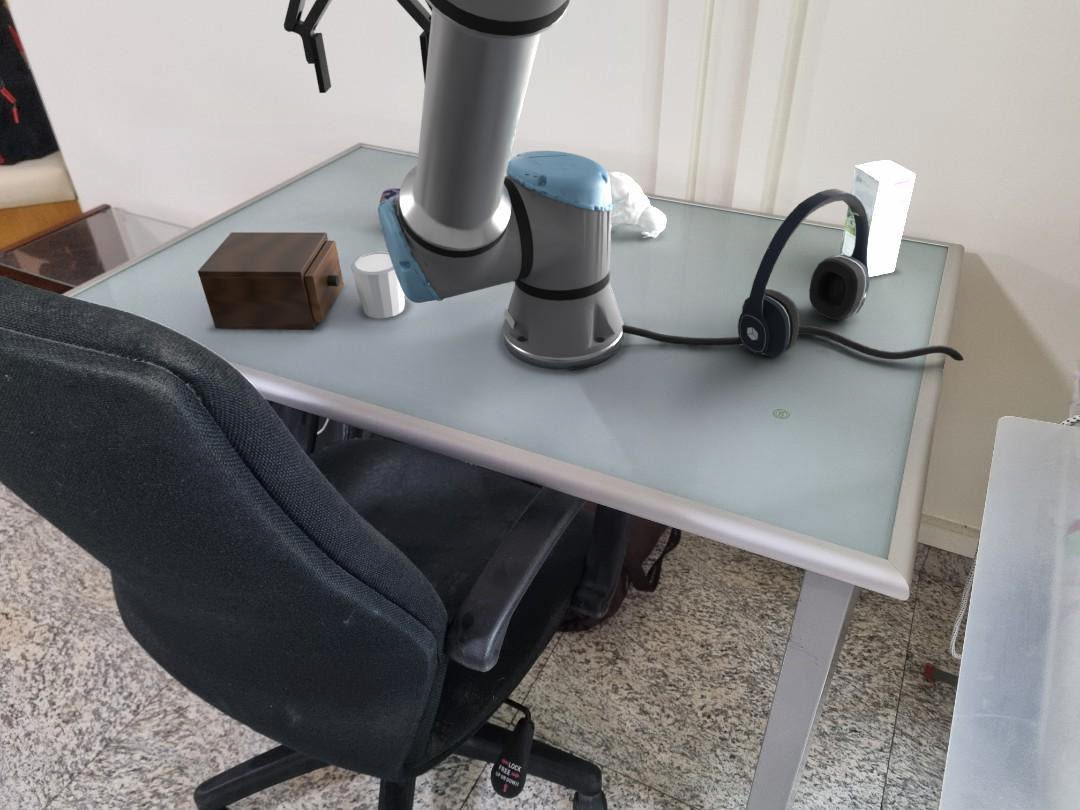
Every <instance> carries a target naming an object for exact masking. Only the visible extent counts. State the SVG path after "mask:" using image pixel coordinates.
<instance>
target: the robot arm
mask: <svg viewBox="0 0 1080 810" xmlns="http://www.w3.org/2000/svg"><path fill="white" fill-rule="evenodd" d="M306 1H307V0H289V3H288V6H287V9H286V14H285V18H284V22H283V28H284V30H285V31H286V32H288V33H295V34H297V35H299V36H300V38H301V40H302V46H303V52H304V57H305V61H306V62H307V64H308V65H313V66H314V70H315V71H314V72H315V76H316V83H317V86H318V93H319V94H326V93H327V92H328V91H329V90H330V89H331V88H332V84H331V78H330V73H329V72H330V71H329V65H328V60H327V54H326V49H325V44H324V43H325V42H324V38H323V33H322V32H315V31H316V30H317V27H318V25H319V24H320V22H321V20H322V18H323V16H324V15H325V13H326V11H327V10H328V8H329V7H330V5H331V3H332V1H333V0H315V1H314V3H313V5H312V6H311V8H310V10H309V11H308V13H307V15H306V17H305V19H304V20H302V16H303V12H304V8H305V5H306ZM424 1H425V3H426V4H427V7H428V8H429V10H430V12H431V14H430V12H429V11H428V10H427V9H426V8H425V7H424V6H423V5H422V3H421V2H420V1H419V0H396V2H397V3H398V4H399V5H400V6H401V7H402V8H403V9H404V10H405V12H407V14H408V15H409V16H410V17H411V19H412V20H414V22H416V24H417V25H418V26H419V27H420V28H421V29H422V32H421V33H420V35H419V46H420V53H421V63H422V72H423V73H422V74H423V80H424V81H423V82H424V89H423V100H422V110H421V122H420V131H419V140H418V143H419V144H418V153H417V164H416V165H415V166H414V167H413V168H412V169H410V171H408V173H407V174H406V176H405V177H404V178H403V180H402V183H401V185H400V188H399V189H400V194H399V198H395V197H390V198H389V199H388V200H386V201H383V202H381V203H380V202H379V204H378V206H377V214H378V215H377V216H378V220H379V224H380V228H381V232H382V236H383V239H384V242H385V246H386V249H387V252H388V253H389V256H390V259H391V262H392V265H393V267H394V270H395V273H396V276H397V278H398V281H399V283H400V286H401V288H402V290H403V292H404V296H405V297H406V298H407V299H408V300H409V301H410V302H412V303H415V304H422V303H428V302H433V301H437V302H441V301H444V300H445V299H449V298H452V297H456V296H460V295H465V294H468V293H473V292H475V291H481V290H484V289H488V288H492V287H496V286H500V285H503V284H507V283H511V282H514V287H513V290H512V294H511V297H510V301H509V304H508V307H507V308H505V311H504V314H503V317H504V321H503V326H502V330H503V331H502V333H503V343H504V347H505V348H506V350H507V351H508V352H509V354H510V355H511V356H512V357H514V358H515V359H516V360H518V361H520V362H522V363H524V364H527V365H529V366H533V367H535V368H539V369H540V368H541V369H547V370H554V371H555V370H557V371H562V370H563V371H564V370H566V371H567V370H577V369H583V368H586V367H591V366H594V365H597V364H600V363H602V362H604V361H606V360H607V359H609V358H611V357H613V356H614V355H615V354H616V353H617V352H618V351H619V349H620V348H621V347H622V344H623V342H624V333H625V334H628V335H634V336H638V337H643V338H645V339H650V340H652V341H655V342H656V341H657V342H661V343H667V344H675V345H686V346H704V347H705V346H707V347H708V346H709V347H710V346H715V347H716V346H737V345H742V343H741V341H740V339H739V336H729V337H691V336H681V335H672V334H664V333H659V332H655V331H652V330H648V329H645V328H640V327H635V326H631V325H628V324H627V325H626V324H624V320H623V316H622V313H621V311H620V308H619V306H618V303H617V299H616V296H615V294H614V291H613V288H612V285H611V276H610V275H611V243H612V241H611V240H612V239H611V237H612V233H611V232H612V228H611V210H612V208H613V204H612V199H611V186H610V178H609V175H608V173H609V172H608V171H607V170H606V169H605V168H604V167H603V166H602V165H601V164H600V163H599V162H597V161H595V160H593V159H591V158H588V157H585V156H583V155H579V154H575V153H570V152H566V151H558V150H557V151H556V150H533V151H532V150H531V151H525V152H521V153H518V154H516V155H515V156H512V157H511V154H512V151H513V146H514V143H515V139H516V135H517V130H518V126H519V122H520V119H521V114H522V110H523V107H524V102H525V97H526V94H527V90H528V86H529V81H530V78H531V74H532V70H533V66H534V62H535V58H536V54H537V50H538V45H539V41H540V37H541V34H542V33H543V32H546V31H548V30H549V29H551V28H552V27H554V26H555V25H557V23H559V21H560V20H562V18H563V16H564V15H565V13H566V12H567V9H568V7H569V5H570V1H571V0H424ZM800 334H801V335H803V334H804V335H812V336H819V337H822V338H826V339H829V340H832V341H834V342H836V343H839V344H841V345H843V346H845V347H847V348H849V349H852V350H854V351H856V352H858V353H862V354H865V355H867V356H871V357H874V358H879V359H886V360H904V359H905V360H906V359H913V358H916V357H921V356H927V355H931V354H943V355H947V356H949V357H950V358H951V359H953V360H954V361H958V362H961V361H964V357H963V355H962V354H961V353H960V352H959V351H958V350H956V349H955V348H953V347H950V346H947V345H943V344H933V345H932V344H931V345H926V346H921V347H916V348H912V349H907V350H898V351H897V350H896V351H895V350H893V351H892V350H885V349H879V348H875V347H871V346H868V345H866V344H863V343H861V342H858V341H855V340H854V339H851V338H849V337H846V336H844V335H843V334H841V333H838V332H834V331H832V330H829V329H826V328H821V327H816V326H809V325H799V331H798V335H800Z"/></svg>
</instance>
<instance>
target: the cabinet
mask: <svg viewBox="0 0 1080 810" xmlns="http://www.w3.org/2000/svg"><path fill="white" fill-rule="evenodd" d="M326 241H329V237H328V233H327V232H296V231H295V232H291V231H290V232H287V231H286V232H284V231H283V232H282V231H281V232H273V231H272V232H271V231H270V232H269V231H268V232H264V231H263V232H257V231H256V232H253V231H251V232H248V231H247V232H245V231H244V232H241V231H240V232H239V231H238V232H233V231H232V232H230V233H229V234H228V236H227V237H226V238H225V239H224V240H223V241H222V242H221V244H220V245H219V246H218V247H217V248H216V250H214V251H213V253H212V254H211V255H210V256H209V258H207V260H206V261H205V262H204V263H203V264H202V265H201V267H200V268H199V269H198V270H197V275H198V277H199V280H200V284H201V286H202V289H203V293H204V296H205V300H206V303H207V306H208V309H209V312H210V315H211V319H212V321H213V322H212V323H213V325H214V329H217V330H218V329H219V330H293V331H295V330H297V331H299V330H301V331H314V330H315V329H316V327H317V325H318V323H319V322H315V321H314V318H313V313H312V309H311V305H310V301H309V296H308V292H307V287H306V283H305V278H304V273H305V272H306V270H307V269H308V267H309V266H310V264H311V262H312V261H313V259H314V258H315V256H316V255H317V253H318V254H319V252H320V251H321V249H322V247H323V246H324V244H325V243H326Z"/></svg>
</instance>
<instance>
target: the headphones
mask: <svg viewBox="0 0 1080 810" xmlns="http://www.w3.org/2000/svg"><path fill="white" fill-rule="evenodd" d="M835 202H844V203H845V204H846V205H847V207H848V206H849V207H850V209H851V211H852V213H853V215H854V219H855V226H856V238H855V246H854V250H853V253H852V255H851V256H846V255H839V254H835V255H832V256H829V257H827V258H825V259H823V260H822V261H820V262H819V263H818V264H817V266H816V267H815V269H814V271H813V274H812V276H811V280H810V285H809V291H808V292H809V297H808V298H809V302H810V304H811V306H812V308H813V309H814V310H815V311H816V312H817V313H818V314H820V315H822V316H823V317H825V318H828V319H831V320H837V321H839V320H840V321H841V320H845V319H848V318H851V317H853V316H854V315H856V314H858V313H859V312H860V310H862V308H863V306H864V303H865V301H866V299H867V296H868V292H869V287H870V277H869V270H868V262H867V254H868V241H869V225H868V219H867V214H866V211H865V208H864V206H863V204H862V203H861V201H860V200H859V199H858V198H857V197H856V196H854V195H852V194H851V192H846V191H843V190H840V189H838V188H831V189H825V190H822V191H819V192H817V193H815V194H813V195H810V196H809V197H807V198H806V199H804V200H803V201H802V202H800V203H798V204H797V205H796V207H794V209H792V210H791V212H790V213H789V214H788V215H787V216H786V218H785V219H784V221H783V222H782V223H781V224H780V226H779V227H778V229H777V230H776V231H775V234H774V235H773V237H772V239H771V240H770V242H769V244H768V245H767V246H768V247H767V248H766V251H765V253H764V254H763V257H762V259H761V261H760V263H759V265H758V268H757V271H756V274H755V276H754V279H753V282H752V286H751V289H750V293H749V296H748V297H747V298H746V299H745V300H744V302H743V304H742V307H741V313H740V315H739V318H738V322H737V323H738V324H737V334H738V337H739V339H740V341H741V343H742V344H741V345H742V346H743V347H744V348H745V349H746V350H748V351H750V352H751V353H754V354H755V355H765V356H768V357H772V358H776V357H778V356H780V355H782V354H784V353H785V352H786V351H788V350H789V349H791V348H792V347H793V346H794V345H795V343H796V342H797V339H798V336H799V334H798V331H799V326H800V314H799V309H798V307H797V306H796V304H795V302H794V300H792V299H791V298H790V297H789V296H787V295H786V294H785V293H783V292H780V291H778V290H775V289H772V288H767V286H768V283H769V281H770V278H771V276H772V273H773V271H774V268H775V266H776V264H777V261H778V260H779V257H780V255H781V254H782V252H783V250H784V248H785V247H786V246H787V244H788V241H789V240H790V238H791V237H792V236H793V235H794V233H795V232H796V231H797V229H798V228H799V227H800V225H801V224H802V223H803V222H804V221H805V220H806V219H807V218H808V217H809V216H810V215H811V214H813V213H815V212H816V211H817V210H818V209H820V208H822V207H824V206H826V205H828V204H831V203H835Z"/></svg>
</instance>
